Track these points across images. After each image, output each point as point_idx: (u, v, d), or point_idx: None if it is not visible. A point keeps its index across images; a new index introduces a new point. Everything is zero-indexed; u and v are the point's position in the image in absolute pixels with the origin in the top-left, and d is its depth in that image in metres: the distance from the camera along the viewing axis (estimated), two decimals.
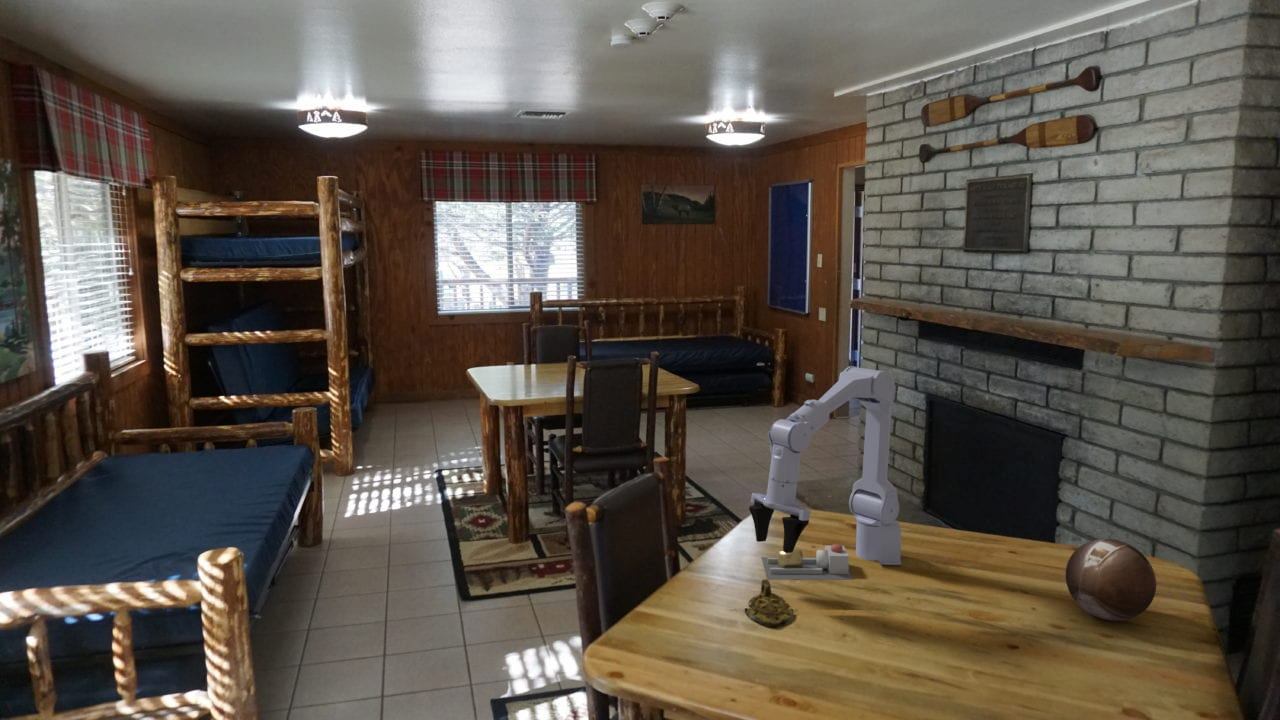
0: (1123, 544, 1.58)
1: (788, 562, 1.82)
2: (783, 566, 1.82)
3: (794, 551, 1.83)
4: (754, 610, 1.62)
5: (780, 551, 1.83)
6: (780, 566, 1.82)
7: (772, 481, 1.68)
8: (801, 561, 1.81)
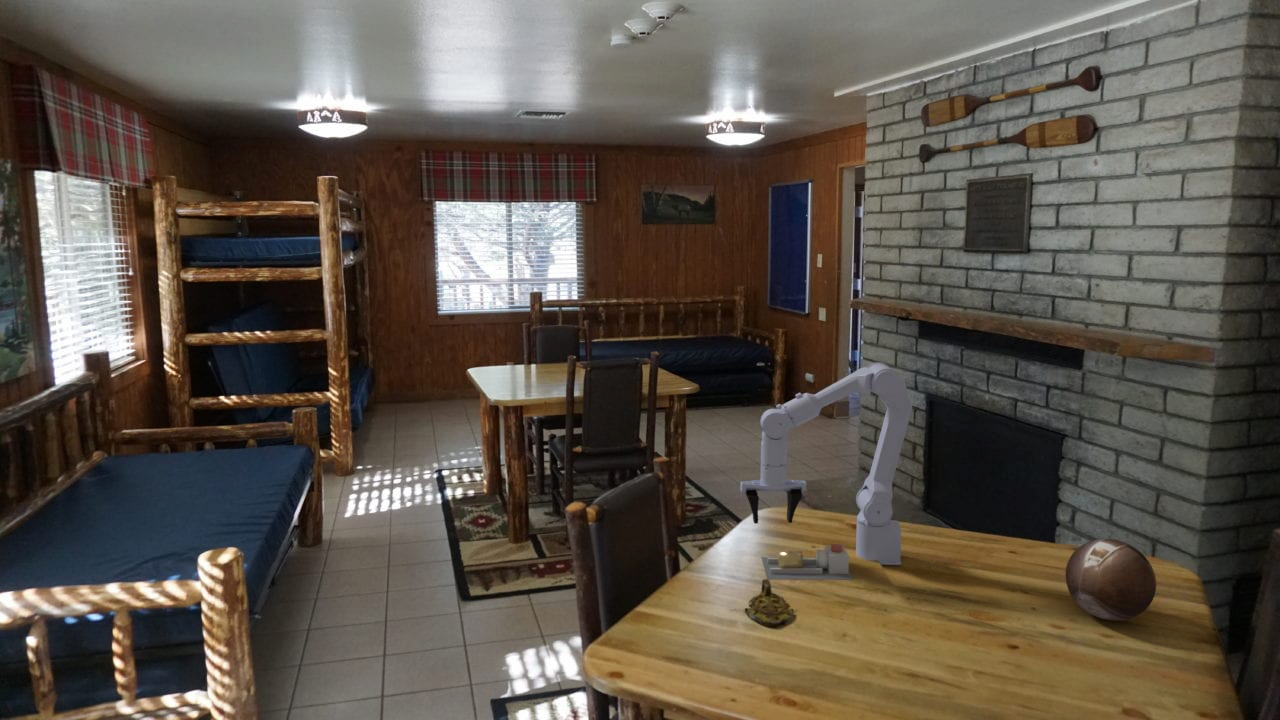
0: (1123, 544, 1.58)
1: (789, 565, 1.81)
2: None
3: (795, 553, 1.82)
4: (754, 610, 1.63)
5: (781, 554, 1.82)
6: None
7: None
8: (801, 564, 1.81)
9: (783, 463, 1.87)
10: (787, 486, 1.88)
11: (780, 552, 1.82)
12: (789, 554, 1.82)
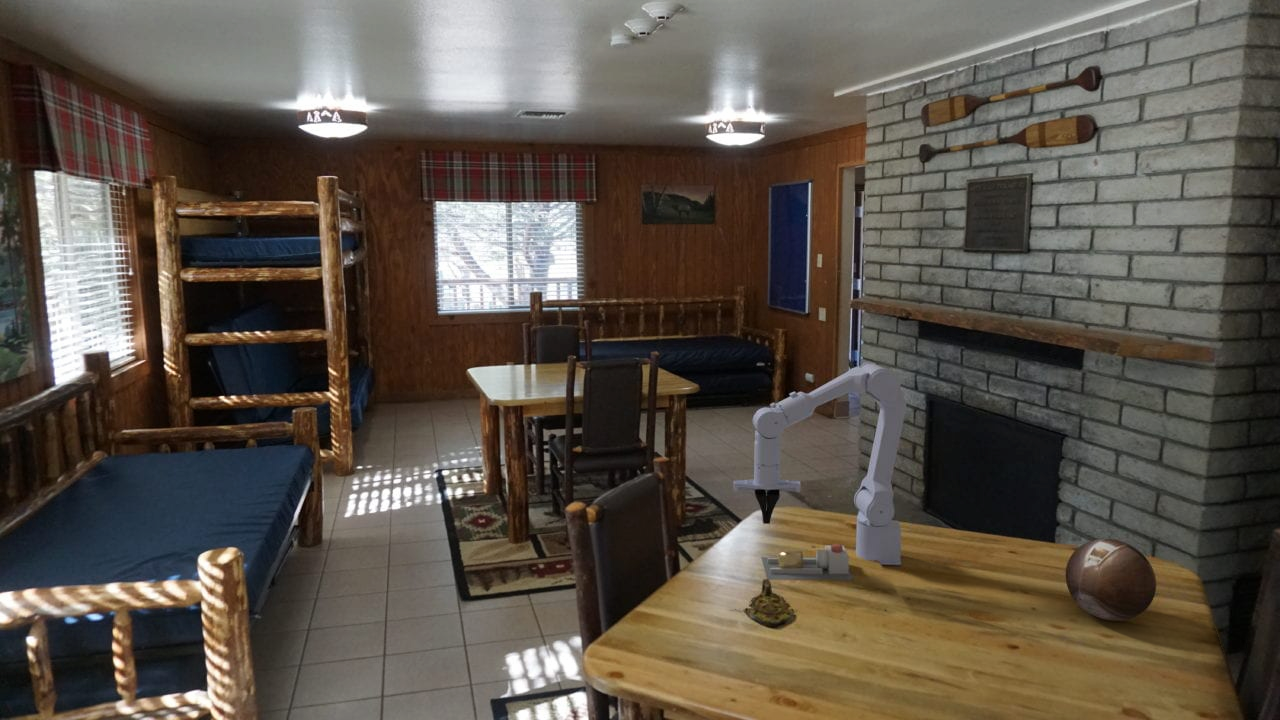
0: (1123, 544, 1.58)
1: (789, 565, 1.81)
2: None
3: (795, 554, 1.82)
4: (754, 609, 1.63)
5: (781, 554, 1.82)
6: None
7: None
8: (801, 565, 1.81)
9: (778, 462, 1.84)
10: (780, 486, 1.85)
11: (780, 552, 1.82)
12: (789, 554, 1.82)
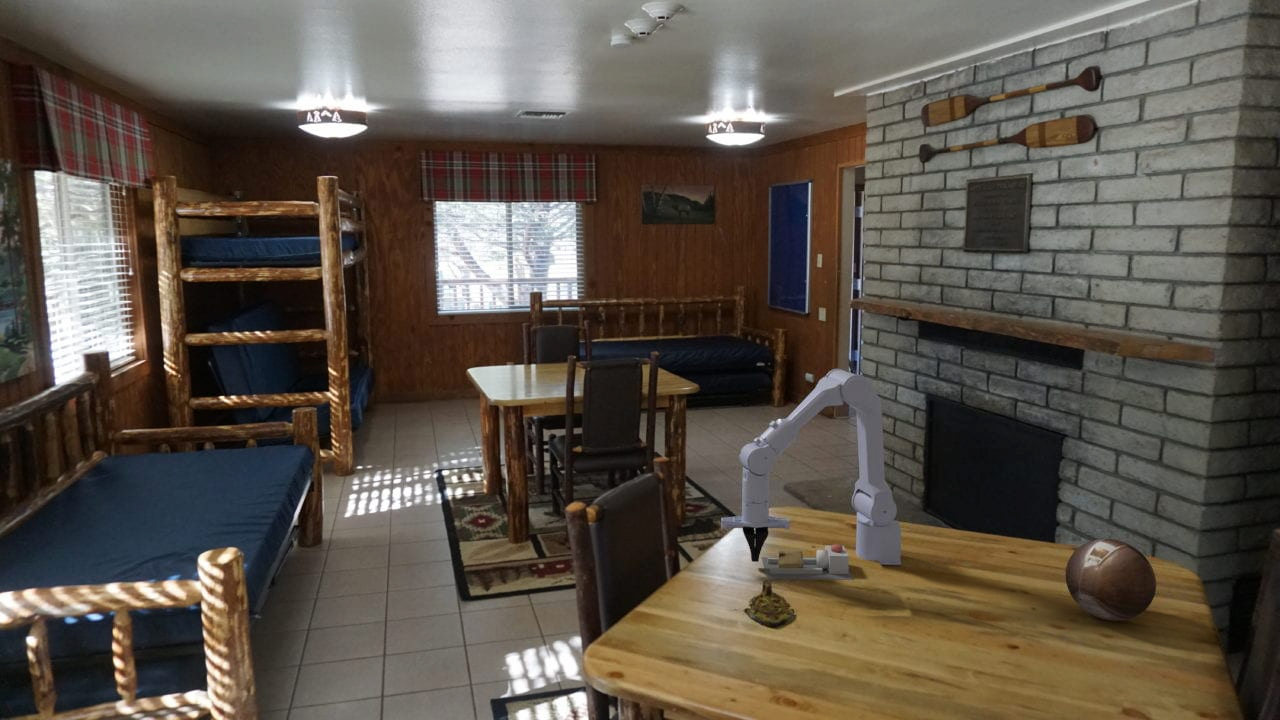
0: (1123, 544, 1.58)
1: (789, 565, 1.81)
2: None
3: (795, 554, 1.82)
4: (754, 609, 1.63)
5: (781, 554, 1.82)
6: None
7: None
8: (801, 564, 1.81)
9: (767, 499, 1.80)
10: (769, 524, 1.80)
11: (780, 552, 1.82)
12: (789, 554, 1.82)
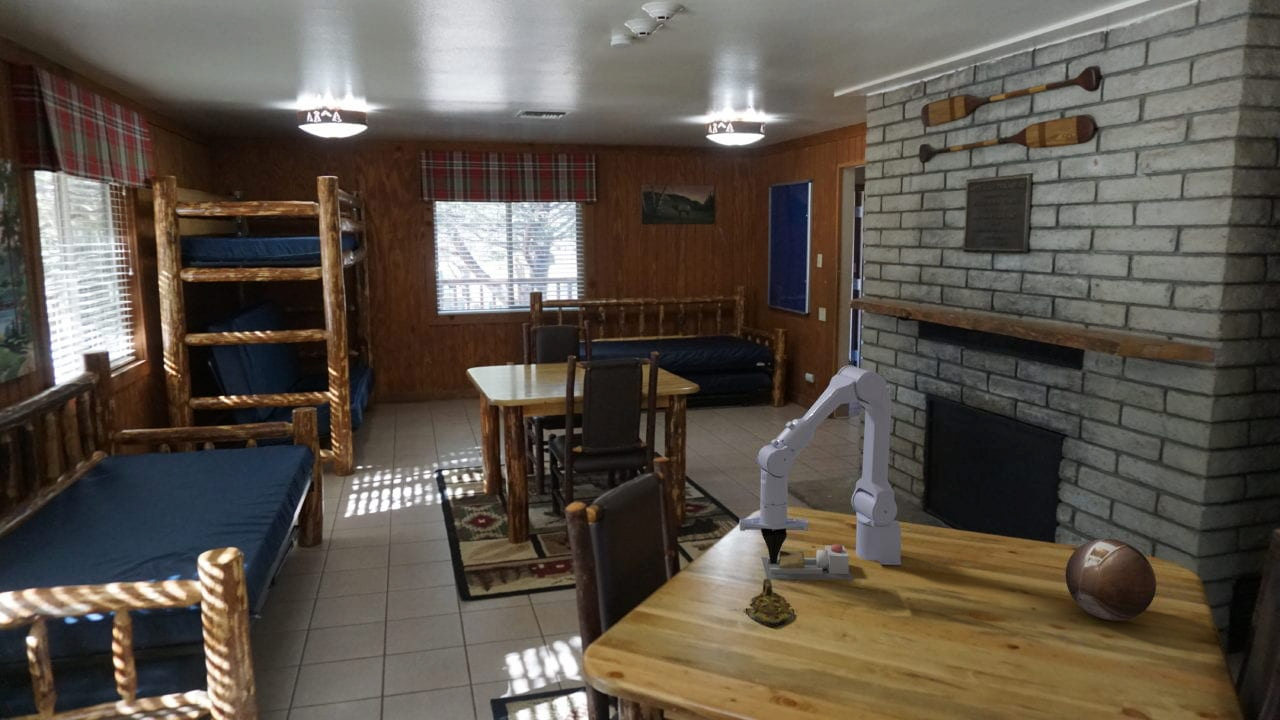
0: (1123, 544, 1.58)
1: (790, 565, 1.81)
2: None
3: (796, 554, 1.82)
4: (754, 609, 1.63)
5: (782, 554, 1.82)
6: None
7: None
8: (803, 564, 1.81)
9: (786, 500, 1.80)
10: (787, 526, 1.80)
11: (781, 552, 1.82)
12: (790, 554, 1.82)
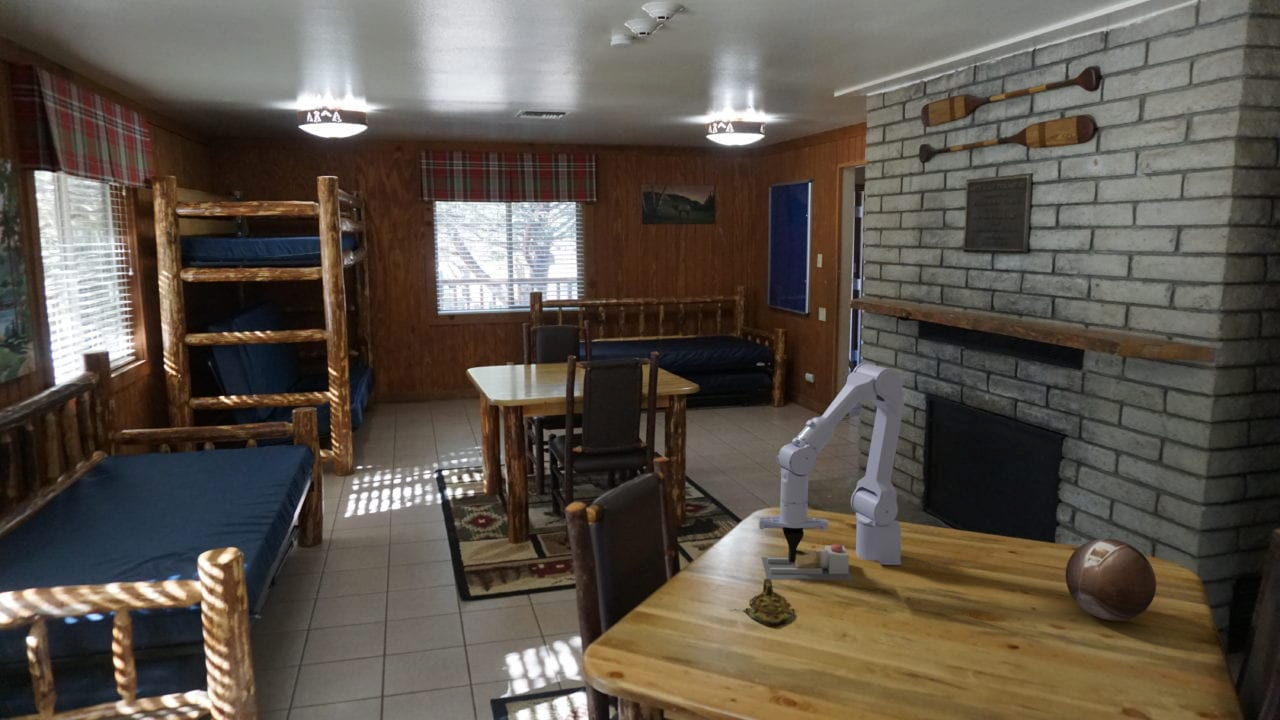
0: (1123, 544, 1.58)
1: (805, 565, 1.81)
2: None
3: (811, 553, 1.81)
4: (754, 609, 1.63)
5: (797, 553, 1.81)
6: (796, 567, 1.81)
7: None
8: (818, 565, 1.81)
9: (807, 499, 1.80)
10: (807, 525, 1.80)
11: (797, 551, 1.82)
12: (806, 554, 1.81)
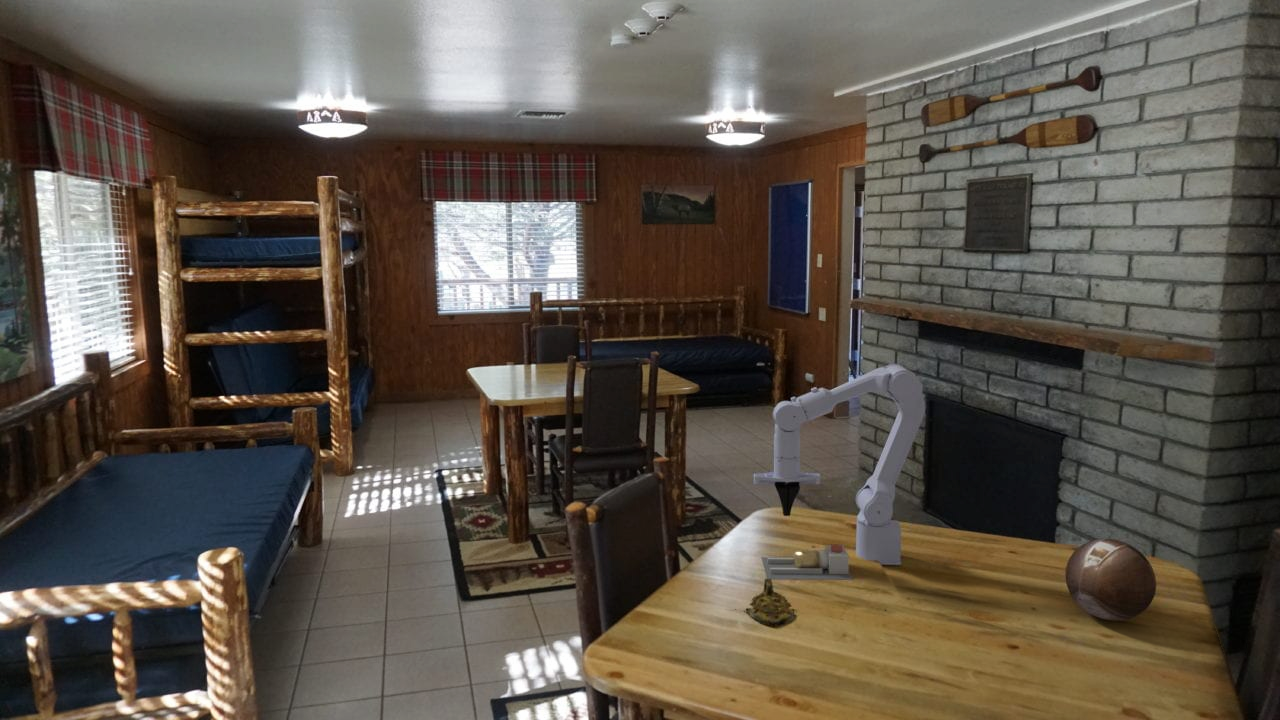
0: (1123, 544, 1.58)
1: (805, 564, 1.81)
2: (799, 567, 1.82)
3: (810, 552, 1.82)
4: (754, 608, 1.63)
5: (796, 552, 1.82)
6: (796, 567, 1.82)
7: None
8: (817, 563, 1.81)
9: (797, 455, 1.86)
10: (800, 479, 1.87)
11: (796, 551, 1.83)
12: (805, 553, 1.82)
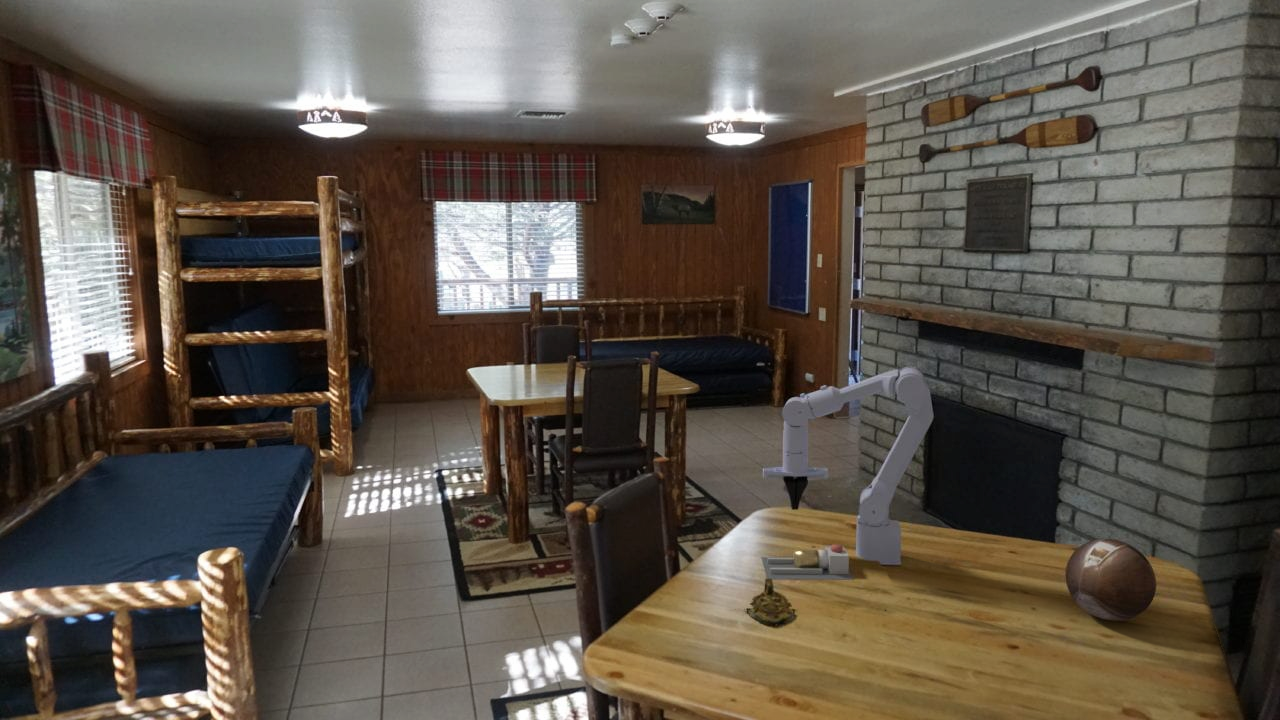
0: (1123, 544, 1.58)
1: (805, 562, 1.81)
2: (799, 566, 1.82)
3: (810, 551, 1.83)
4: (754, 608, 1.63)
5: (796, 551, 1.83)
6: (796, 566, 1.82)
7: None
8: (817, 561, 1.81)
9: (803, 451, 1.90)
10: (808, 473, 1.91)
11: (795, 550, 1.83)
12: (804, 551, 1.82)
